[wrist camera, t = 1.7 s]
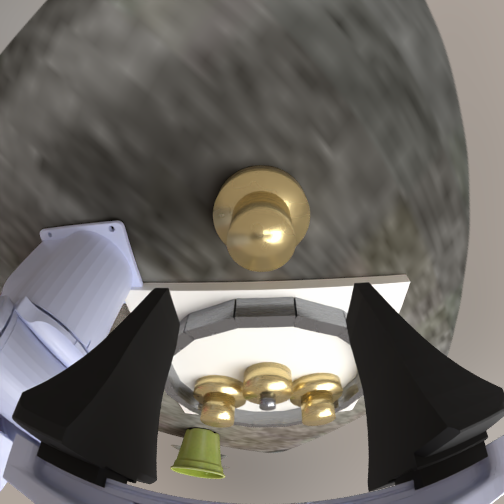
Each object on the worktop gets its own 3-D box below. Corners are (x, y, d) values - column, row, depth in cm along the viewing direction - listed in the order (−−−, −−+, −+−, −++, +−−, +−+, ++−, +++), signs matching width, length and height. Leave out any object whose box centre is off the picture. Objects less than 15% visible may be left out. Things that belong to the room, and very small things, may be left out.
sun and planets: (200, 397, 31) (196, 428, 27) (184, 360, 26) (175, 397, 22) (335, 395, 30) (340, 426, 26) (350, 356, 25) (358, 394, 21)
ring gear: (189, 411, 34) (187, 423, 32) (131, 297, 22) (122, 313, 20) (348, 408, 32) (350, 420, 31) (399, 289, 20) (408, 306, 19)
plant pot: (228, 442, 44) (225, 480, 37) (180, 436, 44) (174, 473, 37) (228, 427, 39) (225, 473, 32) (173, 420, 39) (165, 464, 32)
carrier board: (186, 407, 35) (185, 413, 34) (124, 282, 22) (120, 289, 21) (351, 404, 34) (352, 409, 33) (405, 274, 21) (410, 281, 20)
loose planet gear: (221, 248, 20) (212, 289, 16) (211, 167, 17) (196, 192, 13) (304, 245, 20) (314, 286, 16) (307, 164, 16) (321, 188, 13)
